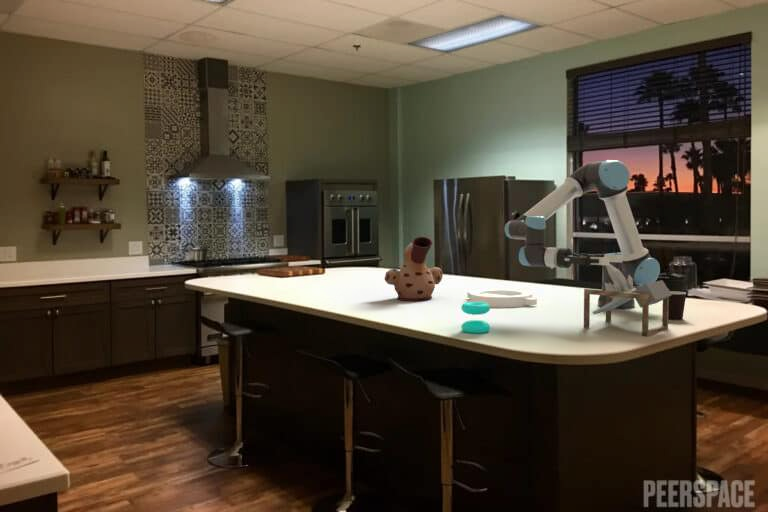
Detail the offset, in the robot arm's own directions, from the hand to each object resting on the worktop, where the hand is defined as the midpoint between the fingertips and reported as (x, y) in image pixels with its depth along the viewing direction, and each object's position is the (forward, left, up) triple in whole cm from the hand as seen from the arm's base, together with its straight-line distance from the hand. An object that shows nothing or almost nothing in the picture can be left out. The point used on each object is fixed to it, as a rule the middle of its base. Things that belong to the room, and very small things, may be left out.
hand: (615, 260), depth 233 cm
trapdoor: (+8, 0, -18) cm, 19 cm away
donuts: (-33, -39, -24) cm, 57 cm away
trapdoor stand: (+3, 0, -24) cm, 24 cm away
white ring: (-65, +24, -25) cm, 74 cm away
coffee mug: (+9, +32, -24) cm, 41 cm away
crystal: (+3, +1, -13) cm, 14 cm away
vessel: (-101, +7, -24) cm, 104 cm away
